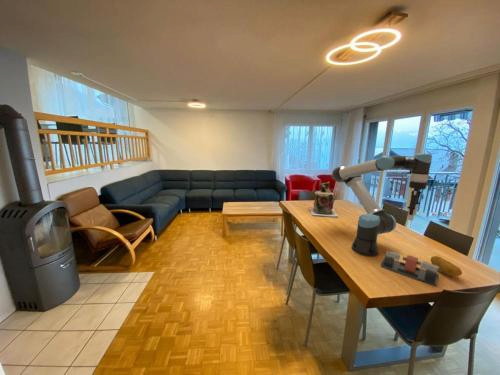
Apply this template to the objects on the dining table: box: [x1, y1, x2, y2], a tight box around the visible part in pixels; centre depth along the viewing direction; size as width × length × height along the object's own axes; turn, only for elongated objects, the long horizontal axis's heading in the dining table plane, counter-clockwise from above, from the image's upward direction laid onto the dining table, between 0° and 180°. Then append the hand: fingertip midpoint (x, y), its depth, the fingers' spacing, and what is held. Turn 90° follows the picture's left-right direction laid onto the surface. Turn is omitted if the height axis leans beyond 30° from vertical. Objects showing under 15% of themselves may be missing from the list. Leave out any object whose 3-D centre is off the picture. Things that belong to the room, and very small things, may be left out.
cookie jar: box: [308, 181, 339, 218], centre depth 205 cm, size 25×25×32 cm
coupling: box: [402, 254, 422, 273], centre depth 111 cm, size 8×5×7 cm, turn 46°
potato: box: [430, 255, 463, 277], centre depth 112 cm, size 7×14×7 cm, turn 2°
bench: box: [379, 249, 439, 288], centre depth 112 cm, size 24×12×8 cm, turn 46°
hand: (411, 217), depth 120 cm, fingers open, 13 cm apart
